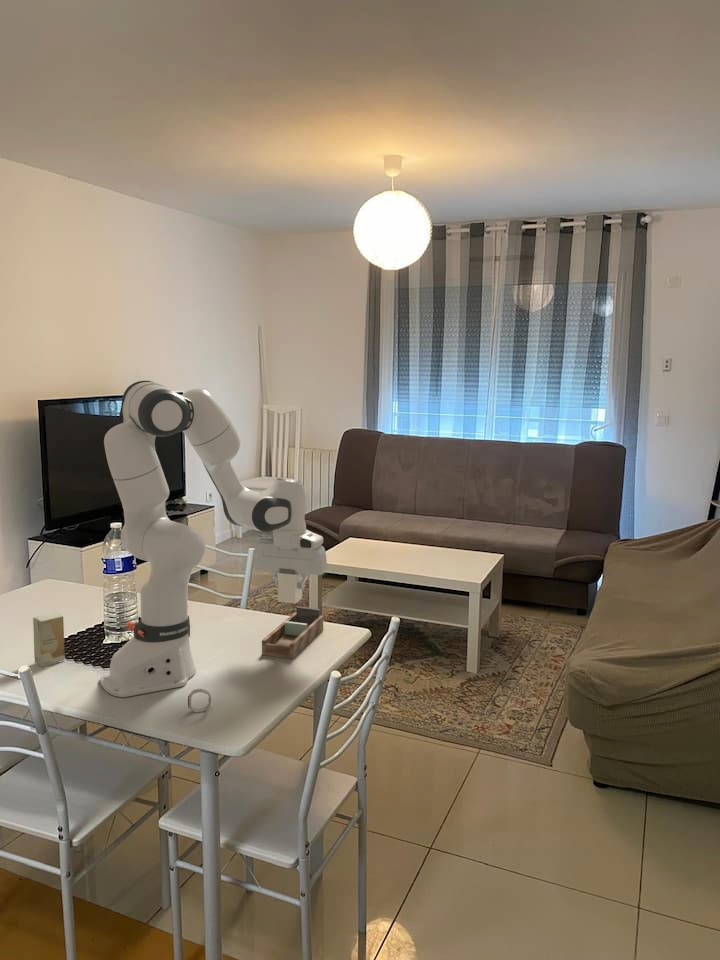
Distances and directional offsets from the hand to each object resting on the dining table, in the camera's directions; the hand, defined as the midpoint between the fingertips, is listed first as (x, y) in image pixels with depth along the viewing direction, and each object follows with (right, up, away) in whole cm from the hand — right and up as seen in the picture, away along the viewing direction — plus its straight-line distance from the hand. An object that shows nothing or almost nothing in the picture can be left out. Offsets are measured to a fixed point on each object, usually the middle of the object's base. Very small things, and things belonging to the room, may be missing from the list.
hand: (290, 587), depth 195 cm
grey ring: (-17, -22, -35) cm, 45 cm away
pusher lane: (+1, -16, +5) cm, 17 cm away
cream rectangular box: (0, -4, +1) cm, 4 cm away
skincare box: (-60, -18, -11) cm, 64 cm away
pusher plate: (+1, -14, +7) cm, 16 cm away
